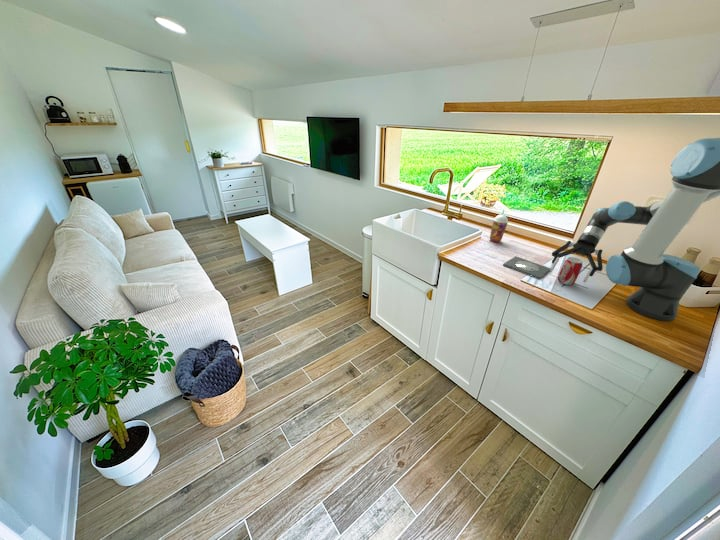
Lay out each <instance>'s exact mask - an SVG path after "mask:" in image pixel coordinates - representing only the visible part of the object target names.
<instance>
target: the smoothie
mask: <svg viewBox="0 0 720 540" xmlns="http://www.w3.org/2000/svg"><path fill="white" fill-rule="evenodd" d="M508 219H509V218H508V217H507V215H505V209H502V213H501V214H498V215H496V216H495V217H494V218H493V219H492V225H491V228H490V229H491V230H490V235H489V240H490V242H492V243H496V244H497V243H500V242H501V241H502V239H503V236H504V234H505V231H506V228H507V226H508V224H509V220H508Z"/></svg>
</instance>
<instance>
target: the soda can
mask: <svg viewBox="0 0 720 540" xmlns="http://www.w3.org/2000/svg"><path fill="white" fill-rule="evenodd" d="M582 268H583V260H581V259H580V258H577V257H573V256H571V257H567V259H565V260H564V262H563V265H562V266H561V268H560V271H559V274H558V276H557V281H558V282H559V283H561V284H562V285H566V286H571V285H572V286H573V285H574V284H575V283H576V281H577V279H578V277H579V275H580V273H581V270H582Z"/></svg>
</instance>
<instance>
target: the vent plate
mask: <svg viewBox="0 0 720 540" xmlns="http://www.w3.org/2000/svg"><path fill="white" fill-rule="evenodd" d="M502 266H504V267H505V268H506V267H507V268H509V269H512V270H513V271H517V272H519V273H522V274H524V275H527V276H530V275H532V276H533V278H535V279H538V280H540V279H542V278H543V277H544V276H545V275H546V274H548V273H549V272H550V271H551V267H548V266H545V265H542V264H539V263H536V262H534V261H530V260H528V259H525V258H523V257H522V258H521V257H520V256H517V255H516V256H514V257H512V258H510V259H509V260H507V261H506V262H504V263H503V264H502ZM532 276H531V277H532Z"/></svg>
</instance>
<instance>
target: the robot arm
mask: <svg viewBox="0 0 720 540" xmlns="http://www.w3.org/2000/svg"><path fill="white" fill-rule="evenodd" d="M670 166H671V168H670V169H669V170H670V174H671V175H672V178H671V183H672V185H673V186H672V188H671V189H670V190H669V192H668V194H667V195H666V197H665V198H663V199H661V200H659V201H657V202H655V203H653V204H651V205H649V206H638V205H637V206H636V205H634V204H633V202H632V203H631V202H630V201H626V200H625V201H620V202H617V203H614V204H612V205H610V207H599V208H598V209H596V210H595V212H594V213H593V214H592V216H591V218H590V220H589V221H588V223H587V224H586V226H585V227H584V229H583V231H582V233H581V234H580V235H579V237H578V239H577V241H576V242H572V241H571V240H568V241H567V242H566V243H565V244H564V245H562V246H560V247H559V248H557V249H555V250H554V251H552V252H551V257H553V259H552V261H551V267H550V268H551V270H550V271H551V272H553V271H554V269H555V267H556V265H557V264H558V262H559V261H560V259H561V258H563V257H566V256H569V255H571V254H572V255H573V254H576V255H578V256H579V255H580V256H581V257H582V256H583V257H586V259H587V260H588V263H589V264H590V266H591V267H590V268H589V271H588V272H587V273H586V275H585V277H584V279H583V283H586V282H587V280H588V278H590V277H593V276H594V274H595V273H596V271H597V272H602V271H603V269H604V267H603V259H602V253H603V249H596V247H597V246H598V244H599V243H600V240H601V239H602V237H604V235H605V232H606V231H607V229H608V228H609V227H610V226H613V225H615V224H618V223H620V224H632V225H642V226H643V225H644V226H645V225H646V226H645V227H644V229H643V230H642V231H641V233H640V235H638V237H637V239H636V240H635V242H634V243H633V244H632V246H627V247H625V248H624V249H623V251H622V252H621V254H618V253H617V254H614V255H613V254H612V255H611V256H610V257H609V258H608V259H607V263H606V266H605V273H606V277H607V278H608V280H610V282H612V283H613V284H616V285H621V286H623V287H625V286H628V287H637V288H638V289H637V290H636V291H634V292H633V293H631V294H630V296H628V298H626V300H625V303H626V306H628V308H629V309H631V310H633V311H634V312H636V313H638V314H640V315H642V316H644V317H647V318H650V319H653V320H657V321H663V322H671V321H674V320H675V318H676V317H677V315H678V314H679V306H680V301H681V300H682V298H683V297H684V295H685V294H686V292H687V291H688V290H689V289H690V288H691V286H692V285H693V283H695V280H696V279H698V275H699V274H700V272H701V268H700V266H698V265H697V264H696V263H694V262H692V261H689V260H688V259H684V258H682V257H679V256H676V255H672V254H665V252H666V250H667V249H668V248H669V247H670V246H671V244H672V243H673V242H674V240H675V239H676V238H677V236H678V235H679V234H680V232H681V231H682V229H684V227H685V226H686V225H687V223H689V221H690V219H691V218H692V217H693V216H694V215H695V213H696V212H697V211H698V209H699V208H700V207H701V205H702V204H704V203H706V202H708V201H711V200H712V199H716V198H717V197H720V137H711V138H700V139H698V140H695V141H694V142H692V143H689V144H688V145H686V146H685V147H683V148H682V149H681V150H680V151H679V152H678V153H676V156H675V157H674V158H673V160H672V162H671V163H670ZM570 247H572V248H570ZM568 248H570V249H568ZM567 249H568V250H567ZM594 253H595V255H596V261H597V265H596V262H595V260H594V258H593V255H592V254H594Z"/></svg>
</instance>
